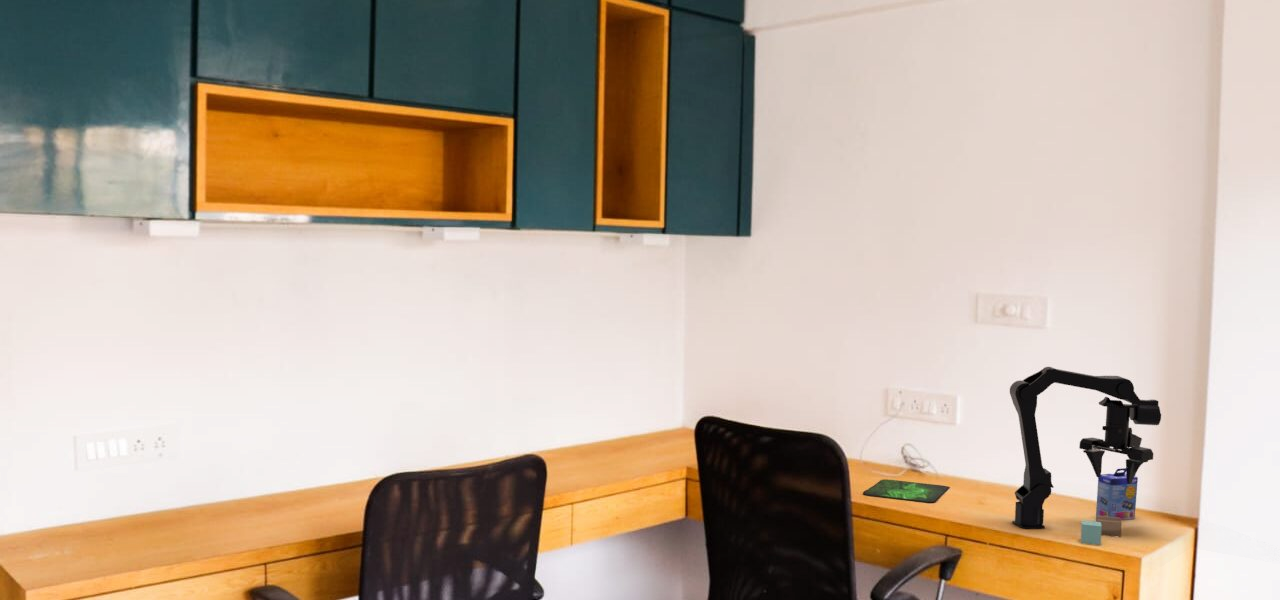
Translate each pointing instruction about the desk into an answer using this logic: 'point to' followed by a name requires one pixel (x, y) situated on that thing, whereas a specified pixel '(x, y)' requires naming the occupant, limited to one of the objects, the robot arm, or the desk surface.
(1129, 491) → the ink cartridge box
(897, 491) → the mouse mat
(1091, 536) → the teal block
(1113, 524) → the walnut block
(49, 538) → the desk surface
